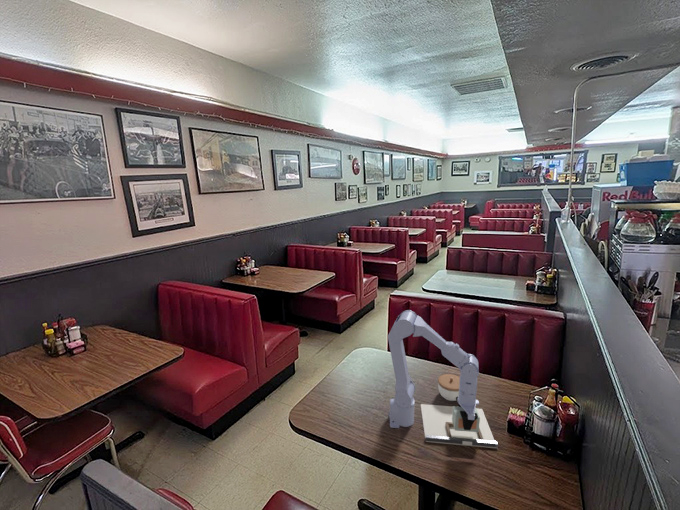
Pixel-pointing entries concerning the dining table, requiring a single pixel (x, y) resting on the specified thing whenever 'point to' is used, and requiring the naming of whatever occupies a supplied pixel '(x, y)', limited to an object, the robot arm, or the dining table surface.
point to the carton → (458, 420)
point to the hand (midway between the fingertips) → (465, 423)
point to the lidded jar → (449, 386)
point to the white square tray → (443, 431)
